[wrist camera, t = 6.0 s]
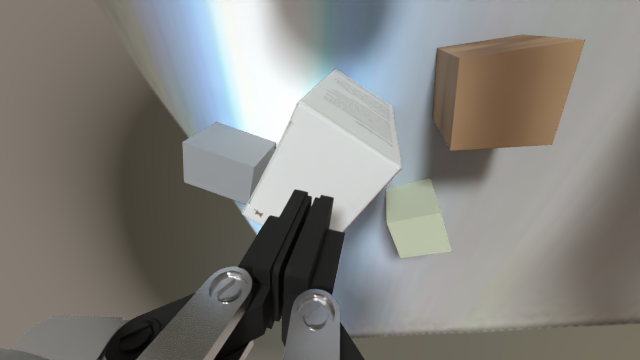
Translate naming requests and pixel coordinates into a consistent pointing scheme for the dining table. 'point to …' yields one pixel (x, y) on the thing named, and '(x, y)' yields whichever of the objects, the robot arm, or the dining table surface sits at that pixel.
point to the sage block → (416, 219)
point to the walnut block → (503, 90)
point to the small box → (331, 152)
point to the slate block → (226, 161)
